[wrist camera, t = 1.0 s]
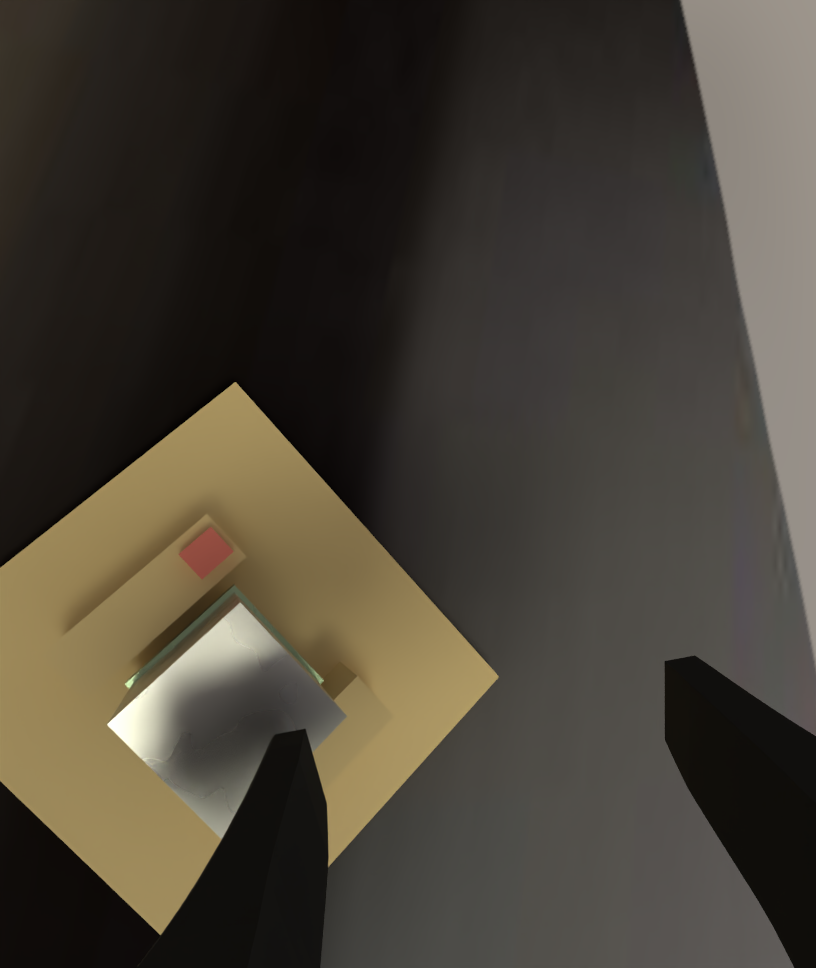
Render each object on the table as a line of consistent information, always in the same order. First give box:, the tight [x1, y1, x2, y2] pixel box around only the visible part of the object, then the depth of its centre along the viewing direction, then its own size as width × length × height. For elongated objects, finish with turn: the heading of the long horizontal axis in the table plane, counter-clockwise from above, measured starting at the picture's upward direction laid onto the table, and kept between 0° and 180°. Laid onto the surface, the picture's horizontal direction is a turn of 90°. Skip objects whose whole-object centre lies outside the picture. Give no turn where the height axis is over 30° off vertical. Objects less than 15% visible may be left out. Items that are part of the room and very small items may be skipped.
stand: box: [0, 382, 499, 935], centre depth 22 cm, size 14×15×5 cm
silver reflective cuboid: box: [107, 584, 347, 839], centre depth 19 cm, size 4×4×7 cm
